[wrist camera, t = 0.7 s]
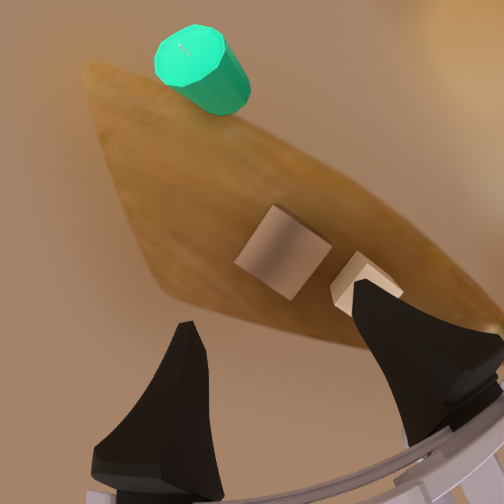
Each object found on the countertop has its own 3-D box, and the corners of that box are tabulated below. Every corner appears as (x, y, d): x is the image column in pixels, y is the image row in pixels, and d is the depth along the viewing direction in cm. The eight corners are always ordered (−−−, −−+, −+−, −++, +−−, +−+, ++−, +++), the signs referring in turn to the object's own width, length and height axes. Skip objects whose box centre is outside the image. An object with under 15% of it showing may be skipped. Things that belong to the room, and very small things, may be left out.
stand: (329, 241, 28) (332, 246, 26) (291, 291, 30) (290, 300, 28) (275, 203, 28) (272, 204, 26) (239, 256, 30) (234, 262, 28)
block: (389, 275, 28) (403, 291, 23) (362, 308, 30) (370, 330, 25) (357, 249, 28) (367, 263, 23) (329, 285, 30) (333, 304, 25)
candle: (260, 101, 26) (233, 53, 14) (210, 125, 27) (156, 95, 16) (237, 59, 25) (202, 3, 14) (190, 83, 27) (135, 42, 15)
